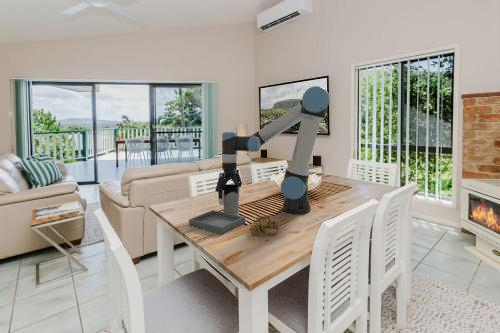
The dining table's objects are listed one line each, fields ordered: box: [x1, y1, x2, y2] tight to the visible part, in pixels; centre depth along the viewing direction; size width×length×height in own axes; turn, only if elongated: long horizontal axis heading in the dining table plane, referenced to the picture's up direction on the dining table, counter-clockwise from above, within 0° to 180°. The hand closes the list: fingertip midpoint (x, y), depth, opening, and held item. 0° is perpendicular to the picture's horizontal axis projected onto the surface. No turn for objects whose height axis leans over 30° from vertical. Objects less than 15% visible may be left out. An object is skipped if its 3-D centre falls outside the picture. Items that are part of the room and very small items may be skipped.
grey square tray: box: [188, 209, 246, 235], centre depth 140 cm, size 20×17×3 cm
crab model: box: [248, 215, 280, 238], centre depth 132 cm, size 15×13×6 cm
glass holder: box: [223, 183, 240, 216], centre depth 157 cm, size 9×14×15 cm, turn 16°
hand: (229, 201), depth 158 cm, fingers open, 13 cm apart
